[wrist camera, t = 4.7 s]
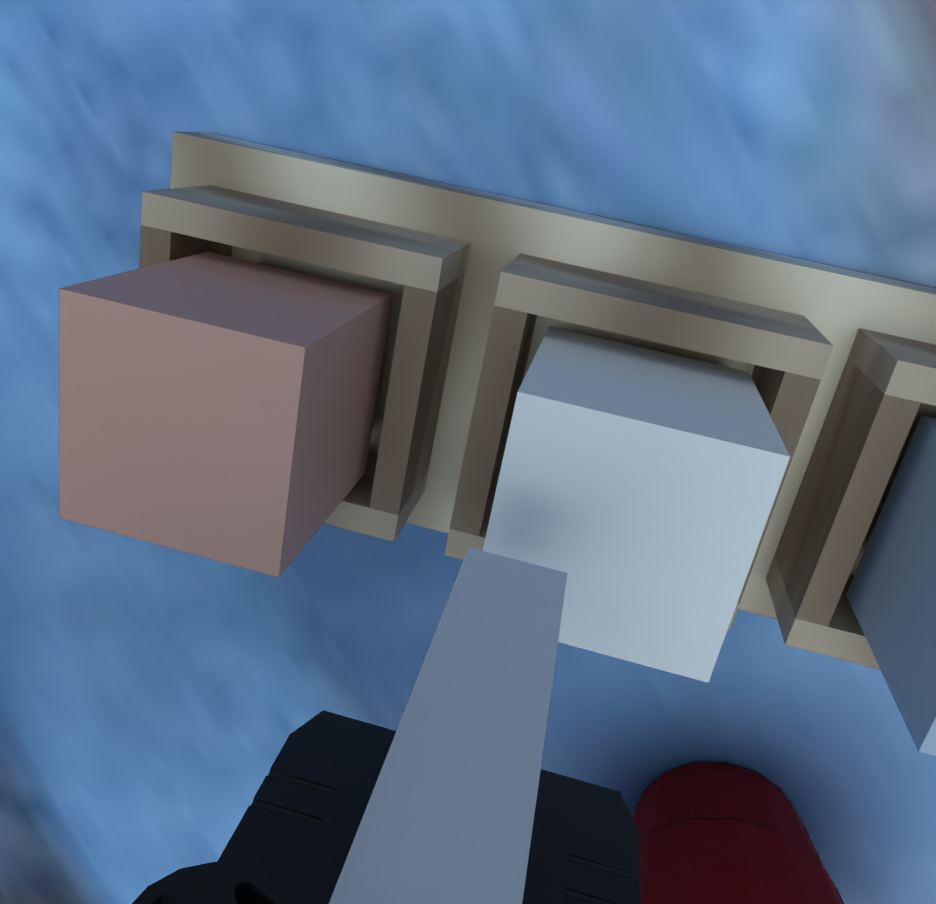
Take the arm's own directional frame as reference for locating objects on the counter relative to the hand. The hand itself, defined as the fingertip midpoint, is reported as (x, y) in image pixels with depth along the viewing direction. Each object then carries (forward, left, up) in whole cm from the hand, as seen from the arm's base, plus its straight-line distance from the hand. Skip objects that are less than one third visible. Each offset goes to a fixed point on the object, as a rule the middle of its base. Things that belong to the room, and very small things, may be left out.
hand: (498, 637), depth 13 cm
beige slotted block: (+2, 0, -14) cm, 14 cm away
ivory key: (+2, 0, -10) cm, 10 cm away
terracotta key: (-7, 0, -10) cm, 12 cm away
